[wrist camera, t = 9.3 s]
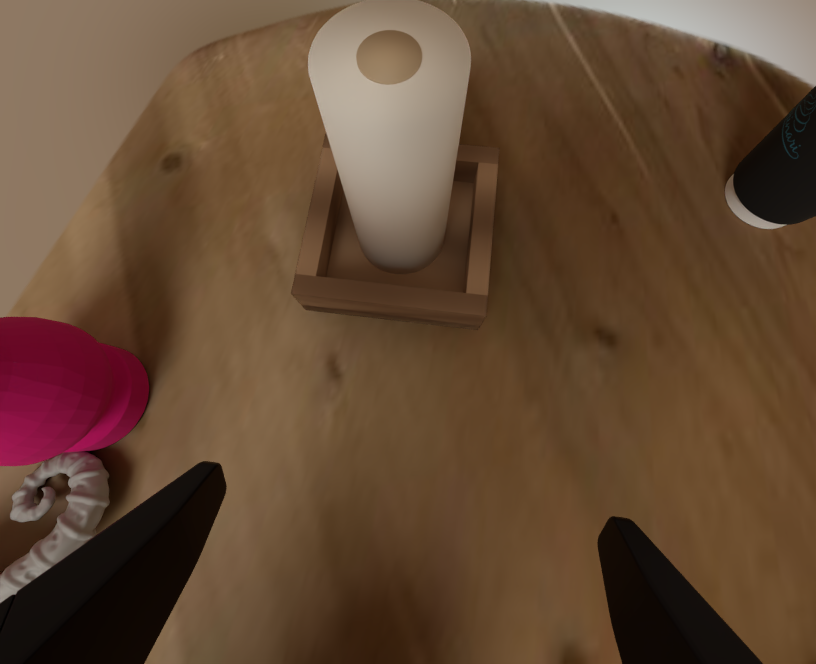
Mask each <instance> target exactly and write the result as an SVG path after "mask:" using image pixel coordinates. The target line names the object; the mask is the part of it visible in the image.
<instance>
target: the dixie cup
mask: <svg viewBox="0 0 816 664" xmlns="http://www.w3.org/2000/svg"><path fill="white" fill-rule="evenodd" d="M725 196H726V200H727V203H728V205H729V207H730V208H731V210H732V211H733V212H734V214H735V215H736V216H738V217H739V218H740V219H741V220H743V221H744V222H746V223H748V224H750V225H752V226H755V227H758V228H764V229H775V228H779V227H782V226H785V225H788V224H796V223H800V222H802V221H805V220H807V219H810V218H812V217H814V216H816V86H815V87H814V88H813V89H812V90H811V91H810V92H809V93H808V94H807V95H806V96H805V97H804V98H803V99H802V100H801V101H800V102H799V103H798V104H797V105H796V106H795V107H794V108H793V109H792V111H791V112H790V113H789V114H788V115H787V116H786V117H785V118H784V119H783V120H782V121H781V122H780V123H779V124H778V125H777V126H776V127H775V128H774V129H773V130H772V131H771V132H770V133H769V134H768V135H767V136H766V137H765V138H764V139H763V140H762V141H761V142H760V143H759V144H758V145H757V146H756V147H755V148H754V149H753V150H752V151H751V152H750V153H749V154H748V155H747V156H746V157H745V158H744V159H743V160H742V161H741V162H740V163H739V165H738V166H737V168H736V169H735V172H734V174H733V175H732V176H731V177H730V178H729V180H728V181H727V184H726V187H725Z"/></svg>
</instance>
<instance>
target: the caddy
mask: <svg viewBox="0 0 816 664" xmlns="http://www.w3.org/2000/svg"><path fill="white" fill-rule="evenodd" d="M498 160H499V148H495V147H484V146H474V145H463V144H459V146H458V152H457V159H456V165H455V172H454V178H453V185H452V191H451V198H450V204H449V211H448V217H447V224H446V230H445V237H444V242H443V246H442V249H441V251H440V253H439V255H438V256H437V257H436V259H435V260H434V261H433V262H432V263H431V264H430V265H428V266H427V267H425V268H424V269H422V270H420V271H417V272H414V273H410V274H392V273H388V272H385V271H382V270H380V269H378V268H377V267H375V266H374V265H373V264H372V263H370V262H369V260H368V259H367V258H366V257H365V255H364V254H363V252H362V249H361V246H360V243H359V240H358V236H357V233H356V230H355V226H354V223H353V220H352V216H351V213H350V210H349V206H348V203H347V200H346V196H345V193H344V190H343V186H342V183H341V180H340V176H339V173H338V170H337V166H336V163H335V160H334V156H333V153H332V150H331V146H330V143H329V140H328V136H327V133H326V134H325V139H324V143H323V148H322V152H321V157H320V162H319V166H318V171H317V176H316V180H315V185H314V189H313V194H312V199H311V203H310V208H309V212H308V217H307V222H306V226H305V231H304V236H303V240H302V245H301V249H300V254H299V259H298V263H297V268H296V273H295V277H294V282H293V286H292V291H291V294H292V295H293V296H294V297H295V298H296V300H297V301H298V302H299V303H300V304H301V305H302V306H303V307H304V308H305V309H306V310H312V311H320V312H329V313H337V314H346V315H355V316H363V317H372V318H380V319H389V320H397V321H406V322H414V323H423V324H431V325H440V326H448V327H457V328H466V329H474V330H478V328H479V327H480V325H481V323H482V322H483V320H484V319H485V317H486V312H487V300H488V287H489V274H490V262H491V249H492V236H493V224H494V211H495V198H496V186H497V173H498Z"/></svg>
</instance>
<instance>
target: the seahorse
mask: <svg viewBox="0 0 816 664" xmlns="http://www.w3.org/2000/svg"><path fill="white" fill-rule="evenodd" d="M59 473H64V474H67V476H69V477H70V479H69V480H68V485H69V487H71V493H70V494H68V495H67V496H66V499H67V500H68V502H69V504H68V507H67V509H66V511H65V512H64V513H62V514H60V515H59V516H58V518H57V524H56V526H55V528H54V529H53V530H52V532H51V533H50V534H49V535H48V536H47V537H45V538H44V539H41V540H39V541H38V542H37V543H35V544H34V545H33V547H32V548H31V550H30V552H28V553H27V554H26V555H24V556H23V557H21V558H19V559H17V560H16V561H14V562H13V563H12V564H11V565H10V566H8V567H7V568H6V569H5V570H4V572H3V573H2V574H0V603H1V602H2V601H4V600H5V599H7V598H8V597H9V596H11V595H13V594H15V595H16V593H17V591H18V590H20V589H21V588H22V587H24V586H25V585H27V584H28V583H29V582H31V581H32V580H34V579H35V578H37V577H38V576H39V575H41V574H42V573H44V572H45V571H46V570H48V569H49V568H51V567H52V566H54V565H55V564H56V563H58V562H59V561H61V560H62V559H64V558H65V557H66V556H68V555H69V554H71V553H72V552H73V551H75V550H76V549H78V548H79V547H81V546H82V545H83V544H85V543H86V542H87V541H88V540H89V539H91V538H93V537H94V536H95V535H96V526H97V525H98V523H99V522H100V520H101V518H102V515H103V512H104V510H105V508H106V507H107V506H108V505H109V504H110V501H109V486H108V482H107V479H108V478H109V474H108V472H107V471H106V470H105V469H104V467H103V464H102V461H101V460H100V459H99V458H97V457H96V456H94V455H92V454H90V453H88V452H84V451H79V452H63V453H62V454H60V455H57V456H55V457H54V458H52V459H50V460H46V461H44V462H43V463H42V465H41V466H40V467H39V468H38V469H37V470H35V471H34V472H33V473H32V474H30V475H27V476H26V477H25V480H24V483H23V484H22V486H21V487H20V489H19V490H18V491H16V492H15V493H14V494H13V496H12V500H13V506H12V511H11V513H10V518H11V519H12V520H14V521H18V522H26V521H36V520H39V519H40V518H41V517H42V516H43V515H44V514H45V513H46V512H47V511H48V510H49V509H50V508H51V507H52V505H53V504H54V502H55V491H54V490H53V488H52V487H44V488H42V491H43V492H44V497H43V498H42V500H41V502H40V504H39V505H37V504H36V503H34V496H35V495H36V494H37V488H38V487H39V486H42V485H44V484H45V482H46V479H47V478H49V477H53V476H56V475H57V474H59Z"/></svg>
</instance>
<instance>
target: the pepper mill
mask: <svg viewBox="0 0 816 664" xmlns="http://www.w3.org/2000/svg"><path fill="white" fill-rule="evenodd" d="M148 394H149V382H148V377H147V373H146V371H145V368H144V367H143V365H142V363H141V362H140V361H139V360H138V359H137V357H135V356H134V355H133V354H131V353H130V352H128V351H126V350H124V349H121V348H117V347H114V346H110V345H106V344H103V343H99V342H97V341H96V340H95V339H94V338H93V337H92V336H91V335H89V334H88V333H86V332H85V331H83V330H81V329H79V328H77V327H75V326H72V325H70V324H66V323H62V322H57V321H52V320H47V319H42V318H37V317H3V318H0V466H21V465H29V464H34V463H38V462H41V461H44V460H47V459H50V458H53V457H55V456H57V455H59V454H61V453H63V452H79V451H92V450H98V449H102V448H105V447H107V446H109V445H112V444H114V443H116V442H117V441H119V440H120V439H121V438H123V437H124V436H126V435H127V434H128V433H129V432H130V431H131V430H132V429H133V427H134V426H135V425H136V424H137V422H138V421H139V419H140V417H141V416H142V414H143V413H144V410H145V407H146V404H147V401H148Z"/></svg>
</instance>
